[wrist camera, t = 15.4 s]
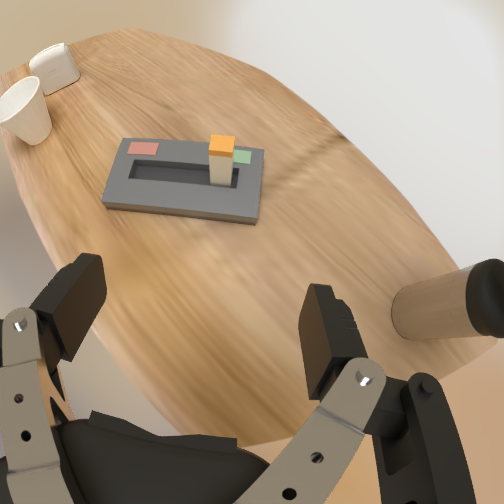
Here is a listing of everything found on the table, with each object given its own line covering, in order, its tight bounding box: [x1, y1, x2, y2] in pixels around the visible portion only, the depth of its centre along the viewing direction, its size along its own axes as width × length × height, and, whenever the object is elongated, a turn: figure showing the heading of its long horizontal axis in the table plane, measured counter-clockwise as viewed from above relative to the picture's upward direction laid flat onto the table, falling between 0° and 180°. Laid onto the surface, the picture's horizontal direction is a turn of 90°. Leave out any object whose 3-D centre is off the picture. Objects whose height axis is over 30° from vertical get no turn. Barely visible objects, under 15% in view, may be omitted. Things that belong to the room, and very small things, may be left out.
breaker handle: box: [208, 134, 235, 188], centre depth 39 cm, size 3×2×10 cm
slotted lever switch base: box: [101, 138, 264, 225], centre depth 43 cm, size 24×12×3 cm, turn 84°
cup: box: [0, 76, 52, 146], centre depth 39 cm, size 12×12×12 cm
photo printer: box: [29, 43, 80, 96], centre depth 43 cm, size 10×4×12 cm, turn 112°
